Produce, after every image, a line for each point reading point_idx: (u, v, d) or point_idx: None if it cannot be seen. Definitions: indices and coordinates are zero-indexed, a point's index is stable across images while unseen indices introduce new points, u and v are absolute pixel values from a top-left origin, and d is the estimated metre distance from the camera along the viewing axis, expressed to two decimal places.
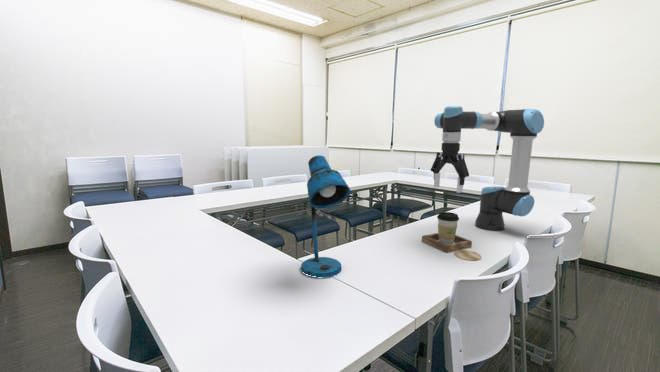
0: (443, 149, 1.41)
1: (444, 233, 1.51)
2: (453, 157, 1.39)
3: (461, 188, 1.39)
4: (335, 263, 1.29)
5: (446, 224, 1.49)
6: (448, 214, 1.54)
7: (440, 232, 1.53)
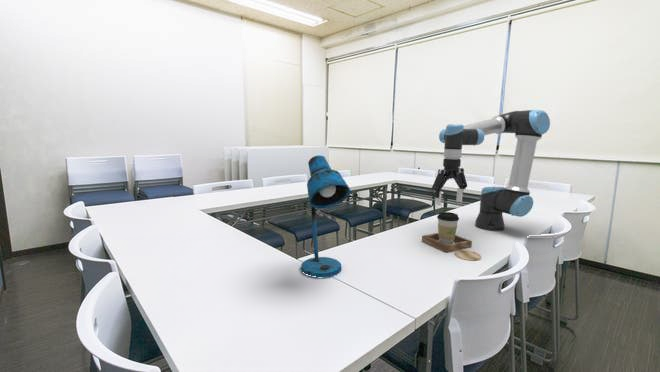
0: None
1: (444, 233, 1.51)
2: None
3: (438, 201, 1.48)
4: (335, 263, 1.29)
5: (446, 224, 1.49)
6: (448, 214, 1.54)
7: (440, 232, 1.53)
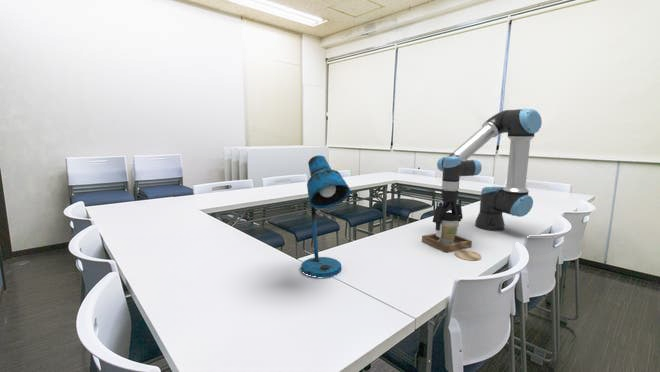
0: None
1: (444, 233, 1.51)
2: None
3: (439, 233, 1.51)
4: (335, 263, 1.29)
5: (446, 224, 1.49)
6: (448, 214, 1.54)
7: None
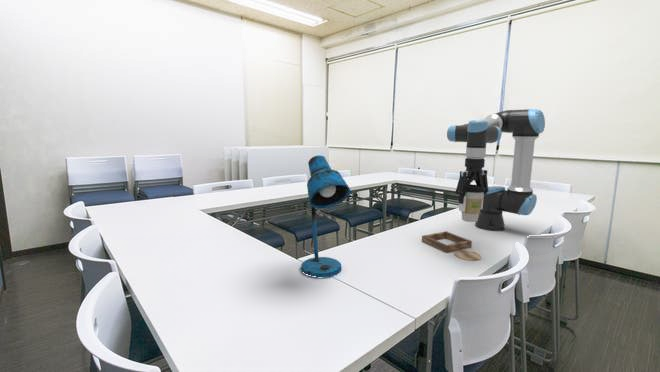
0: None
1: (468, 207, 1.35)
2: None
3: (462, 207, 1.35)
4: (335, 263, 1.29)
5: (471, 197, 1.33)
6: (472, 186, 1.38)
7: None
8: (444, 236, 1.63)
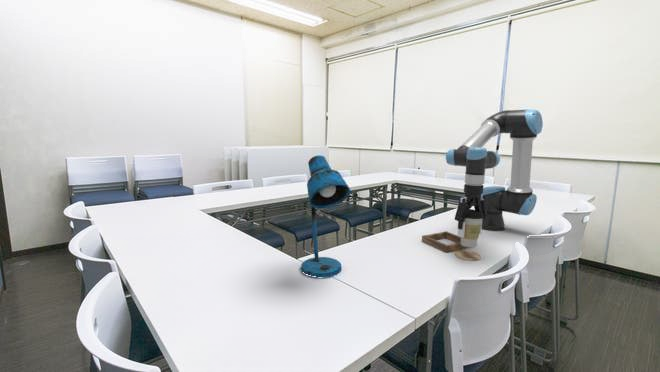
0: None
1: (467, 232, 1.37)
2: None
3: (461, 233, 1.36)
4: (335, 263, 1.29)
5: (470, 223, 1.35)
6: (471, 211, 1.39)
7: None
8: (444, 236, 1.63)
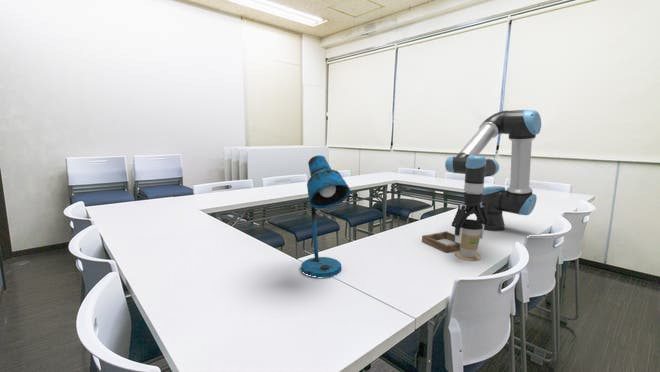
0: None
1: (466, 243, 1.38)
2: None
3: (458, 239, 1.36)
4: (335, 263, 1.29)
5: (469, 233, 1.36)
6: (470, 222, 1.40)
7: (462, 241, 1.39)
8: (444, 236, 1.63)
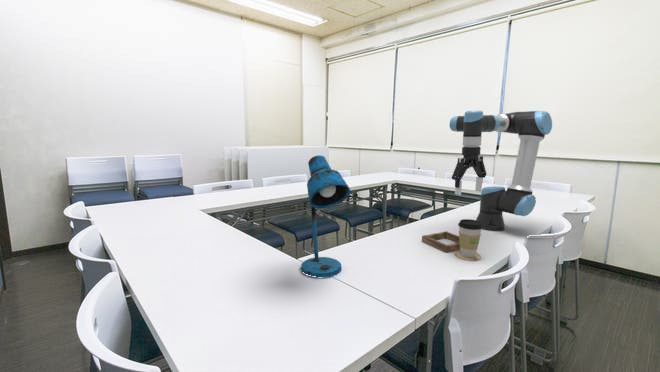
0: None
1: (466, 243, 1.38)
2: None
3: (458, 191, 1.42)
4: (335, 263, 1.29)
5: (469, 233, 1.36)
6: (470, 222, 1.40)
7: (462, 241, 1.39)
8: (444, 236, 1.63)
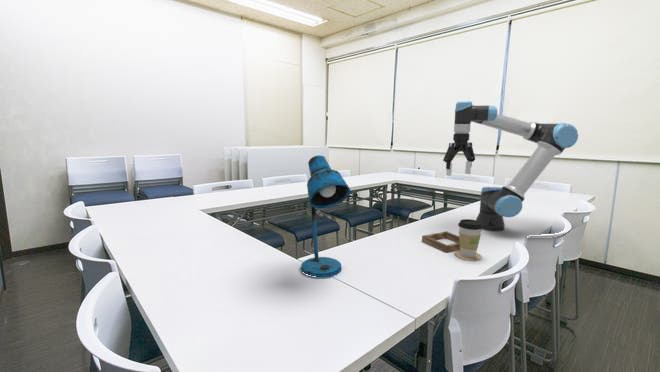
0: None
1: (466, 243, 1.38)
2: None
3: (449, 172, 1.61)
4: (335, 263, 1.29)
5: (469, 233, 1.36)
6: (470, 222, 1.40)
7: (462, 241, 1.39)
8: (444, 236, 1.63)
